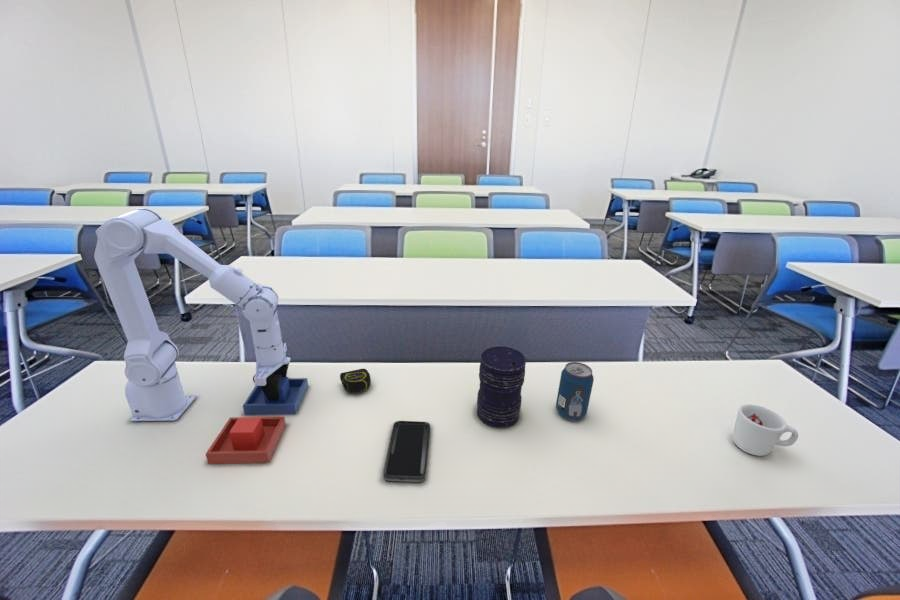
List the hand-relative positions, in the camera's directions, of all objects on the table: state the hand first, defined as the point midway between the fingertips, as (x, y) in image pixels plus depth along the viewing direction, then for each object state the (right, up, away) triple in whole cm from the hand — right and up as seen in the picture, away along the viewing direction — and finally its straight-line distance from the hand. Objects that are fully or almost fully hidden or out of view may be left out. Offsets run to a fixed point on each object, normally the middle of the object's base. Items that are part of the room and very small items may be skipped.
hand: (277, 393), depth 92 cm
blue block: (0, -1, +1) cm, 1 cm away
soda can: (+68, -5, 0) cm, 68 cm away
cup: (+105, -10, -9) cm, 106 cm away
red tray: (0, -7, -12) cm, 14 cm away
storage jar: (+51, -5, -1) cm, 51 cm away
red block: (0, -7, -12) cm, 14 cm away
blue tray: (0, -2, +1) cm, 2 cm away
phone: (+32, -9, -13) cm, 35 cm away
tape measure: (+17, 0, +6) cm, 18 cm away
